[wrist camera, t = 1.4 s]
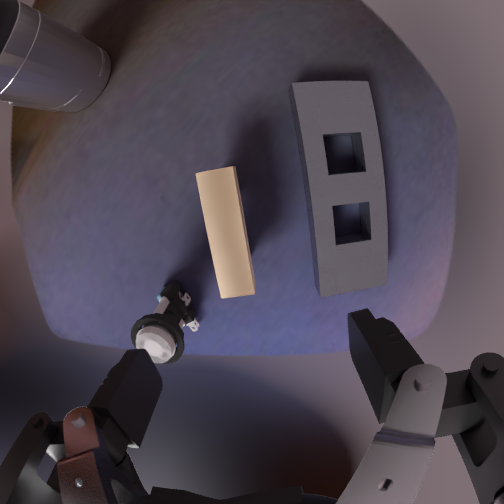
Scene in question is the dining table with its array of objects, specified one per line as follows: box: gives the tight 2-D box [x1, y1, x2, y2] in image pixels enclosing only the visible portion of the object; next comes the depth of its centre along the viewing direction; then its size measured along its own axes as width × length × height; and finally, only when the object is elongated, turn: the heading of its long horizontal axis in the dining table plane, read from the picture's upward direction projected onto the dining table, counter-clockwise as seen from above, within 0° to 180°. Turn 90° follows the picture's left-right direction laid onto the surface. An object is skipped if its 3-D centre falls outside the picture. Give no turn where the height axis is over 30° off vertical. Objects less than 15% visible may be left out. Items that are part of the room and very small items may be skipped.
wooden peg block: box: [196, 166, 255, 298], centre depth 26 cm, size 3×11×7 cm, turn 9°
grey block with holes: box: [288, 81, 388, 297], centre depth 26 cm, size 8×22×3 cm, turn 9°
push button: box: [131, 281, 199, 364], centre depth 27 cm, size 7×5×10 cm
